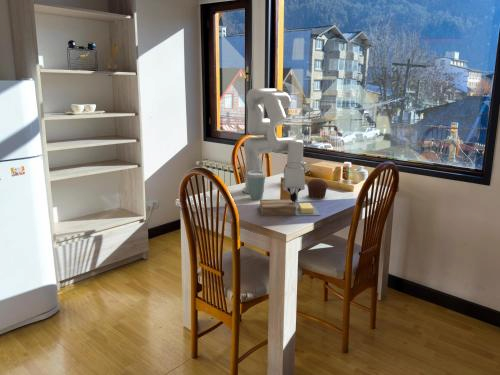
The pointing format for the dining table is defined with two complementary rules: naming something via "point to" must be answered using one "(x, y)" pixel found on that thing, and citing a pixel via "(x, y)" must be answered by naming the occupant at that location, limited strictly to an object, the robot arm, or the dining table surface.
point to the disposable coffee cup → (256, 184)
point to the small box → (285, 191)
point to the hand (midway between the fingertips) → (293, 201)
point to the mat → (307, 213)
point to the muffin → (317, 188)
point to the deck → (277, 207)
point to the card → (306, 208)
